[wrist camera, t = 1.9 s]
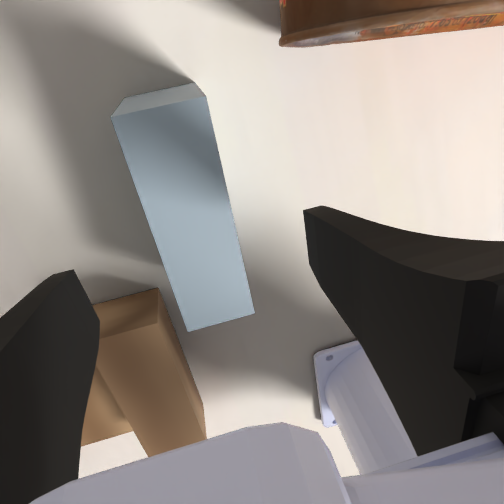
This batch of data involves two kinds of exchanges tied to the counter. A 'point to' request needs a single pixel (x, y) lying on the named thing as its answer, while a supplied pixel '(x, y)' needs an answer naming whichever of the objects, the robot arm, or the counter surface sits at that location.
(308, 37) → the tin
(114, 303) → the slot block
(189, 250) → the pale blue tapered bar
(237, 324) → the counter surface
